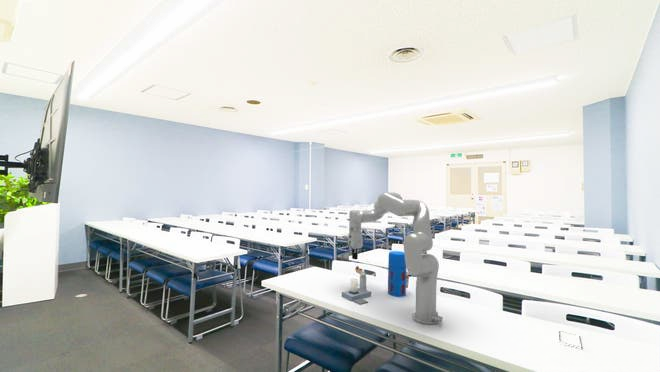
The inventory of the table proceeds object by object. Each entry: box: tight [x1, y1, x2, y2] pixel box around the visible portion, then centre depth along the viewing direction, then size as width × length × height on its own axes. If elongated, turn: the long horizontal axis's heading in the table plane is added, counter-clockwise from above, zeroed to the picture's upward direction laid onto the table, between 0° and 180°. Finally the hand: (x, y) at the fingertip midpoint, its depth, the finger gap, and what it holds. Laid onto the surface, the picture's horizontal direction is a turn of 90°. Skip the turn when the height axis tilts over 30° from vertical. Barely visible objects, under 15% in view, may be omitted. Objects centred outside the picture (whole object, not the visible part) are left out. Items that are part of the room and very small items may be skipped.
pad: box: [352, 298, 369, 306], centre depth 163 cm, size 6×6×1 cm
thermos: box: [387, 250, 407, 298], centre depth 179 cm, size 11×11×25 cm
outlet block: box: [341, 275, 372, 302], centre depth 172 cm, size 9×15×11 cm, turn 126°
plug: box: [349, 278, 358, 295], centre depth 171 cm, size 5×5×10 cm
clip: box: [354, 265, 367, 277], centre depth 181 cm, size 15×3×3 cm, turn 12°
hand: (354, 258), depth 184 cm, fingers closed
